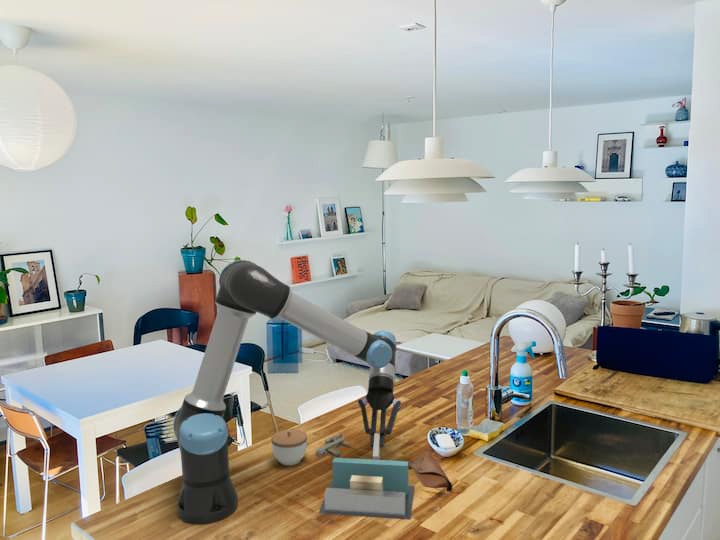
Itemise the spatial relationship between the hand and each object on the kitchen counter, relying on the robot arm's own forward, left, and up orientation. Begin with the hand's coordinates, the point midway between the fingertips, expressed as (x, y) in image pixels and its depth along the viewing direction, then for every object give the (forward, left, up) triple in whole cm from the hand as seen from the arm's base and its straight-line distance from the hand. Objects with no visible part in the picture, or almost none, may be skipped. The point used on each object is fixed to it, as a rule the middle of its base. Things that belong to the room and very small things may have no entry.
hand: (375, 457), depth 160 cm
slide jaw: (-1, -7, -6) cm, 9 cm away
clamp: (-16, +20, -8) cm, 27 cm away
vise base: (-1, -11, -7) cm, 13 cm away
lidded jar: (-28, +10, -7) cm, 30 cm away
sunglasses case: (+14, +5, -8) cm, 17 cm away
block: (-1, -14, -6) cm, 15 cm away
